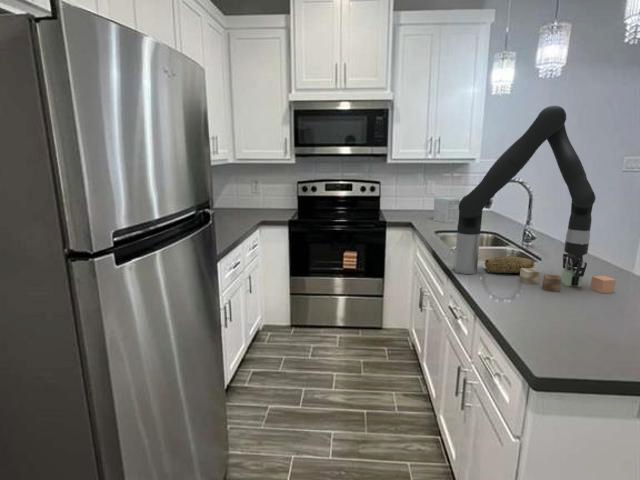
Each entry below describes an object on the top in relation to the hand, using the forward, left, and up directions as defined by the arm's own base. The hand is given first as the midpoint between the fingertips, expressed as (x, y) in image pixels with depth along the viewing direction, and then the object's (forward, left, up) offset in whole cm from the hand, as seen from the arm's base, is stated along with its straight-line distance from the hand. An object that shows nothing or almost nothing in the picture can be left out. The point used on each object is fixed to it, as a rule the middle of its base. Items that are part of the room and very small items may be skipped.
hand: (571, 283), depth 150 cm
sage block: (0, 0, 0) cm, 0 cm away
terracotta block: (+8, -6, -1) cm, 10 cm away
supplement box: (-25, +139, -1) cm, 141 cm away
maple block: (-15, +1, -1) cm, 15 cm away
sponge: (-18, +14, -1) cm, 23 cm away
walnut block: (-10, -7, -1) cm, 12 cm away
